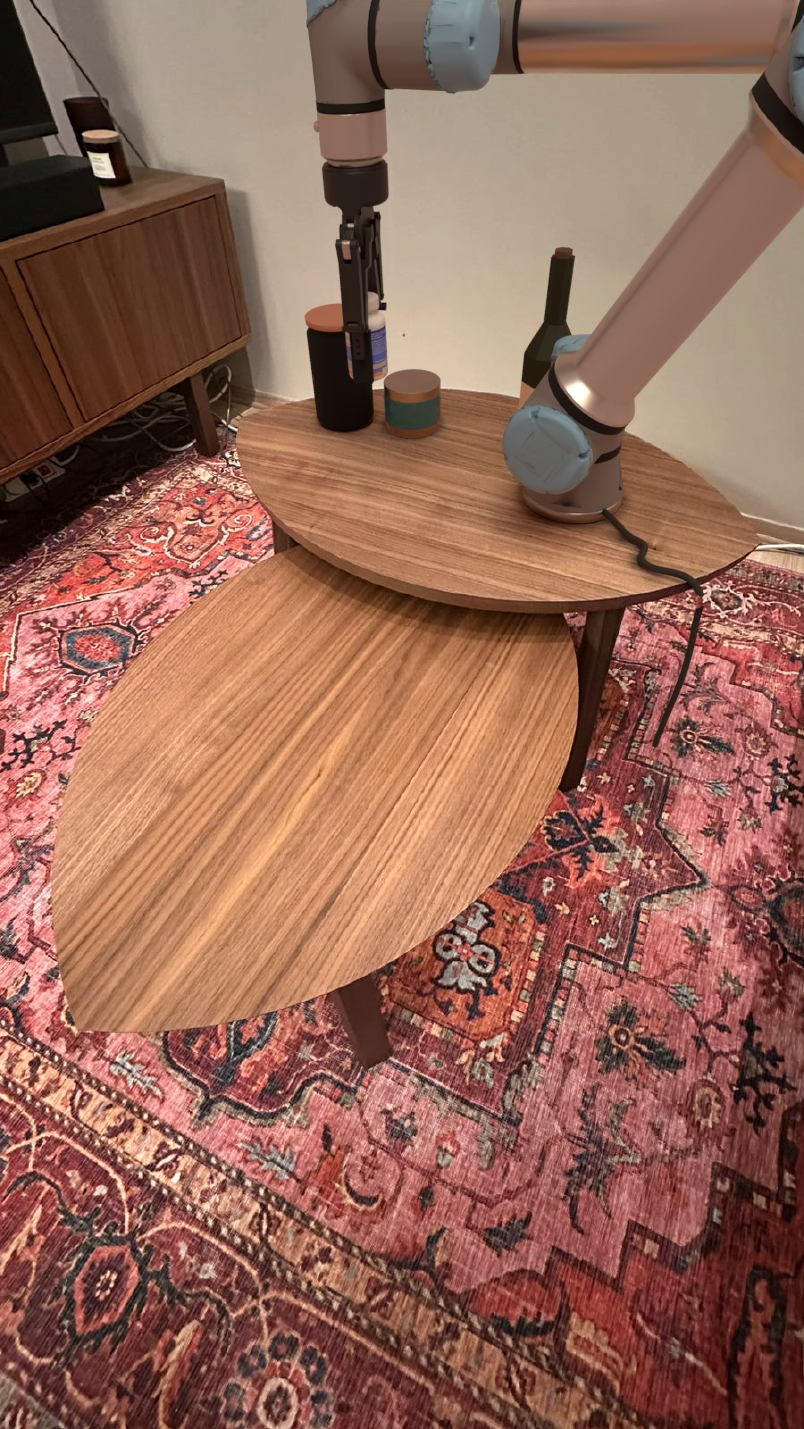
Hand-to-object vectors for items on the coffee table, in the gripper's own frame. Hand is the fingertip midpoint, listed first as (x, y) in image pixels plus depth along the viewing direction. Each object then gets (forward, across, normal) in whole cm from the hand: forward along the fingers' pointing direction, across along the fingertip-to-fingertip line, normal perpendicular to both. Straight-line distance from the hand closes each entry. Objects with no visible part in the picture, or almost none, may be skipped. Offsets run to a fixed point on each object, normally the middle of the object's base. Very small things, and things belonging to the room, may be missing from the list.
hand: (368, 372), depth 95 cm
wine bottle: (+20, -18, +24) cm, 36 cm away
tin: (+20, -26, +1) cm, 32 cm away
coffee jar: (+20, -26, -12) cm, 35 cm away
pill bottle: (+1, 0, 0) cm, 1 cm away
